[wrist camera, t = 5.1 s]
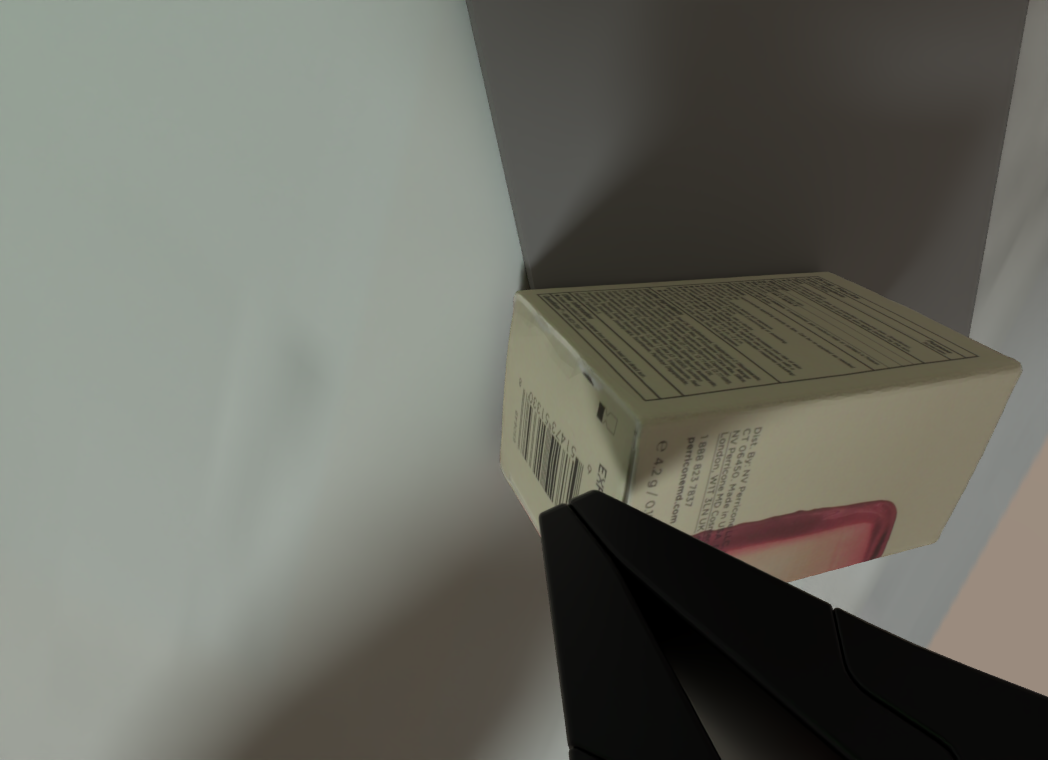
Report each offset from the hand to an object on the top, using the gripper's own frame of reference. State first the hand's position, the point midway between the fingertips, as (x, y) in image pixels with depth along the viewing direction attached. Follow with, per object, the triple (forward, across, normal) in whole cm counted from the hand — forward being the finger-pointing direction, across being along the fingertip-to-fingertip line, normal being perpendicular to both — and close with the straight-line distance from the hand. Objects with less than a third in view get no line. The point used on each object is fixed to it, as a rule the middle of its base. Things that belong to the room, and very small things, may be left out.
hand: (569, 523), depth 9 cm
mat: (+6, -8, 0) cm, 10 cm away
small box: (+3, 0, +1) cm, 3 cm away
